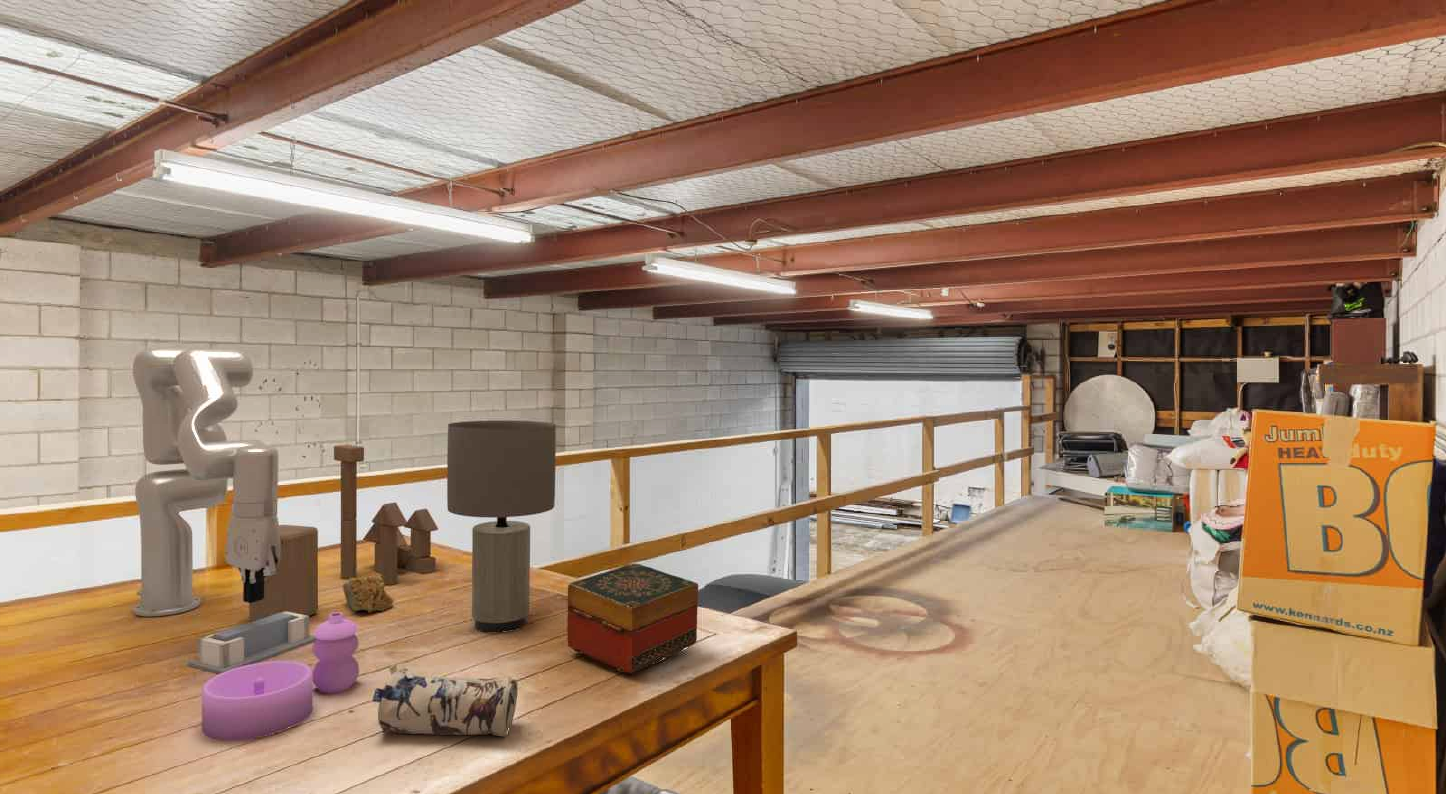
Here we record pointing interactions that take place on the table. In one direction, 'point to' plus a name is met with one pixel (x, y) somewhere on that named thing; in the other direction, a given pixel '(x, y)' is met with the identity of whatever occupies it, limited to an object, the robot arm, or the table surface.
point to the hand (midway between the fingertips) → (253, 600)
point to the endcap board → (231, 653)
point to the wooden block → (291, 576)
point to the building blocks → (381, 528)
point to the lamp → (500, 509)
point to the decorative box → (632, 616)
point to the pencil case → (446, 704)
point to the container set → (279, 687)
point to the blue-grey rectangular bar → (259, 633)
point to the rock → (367, 594)
